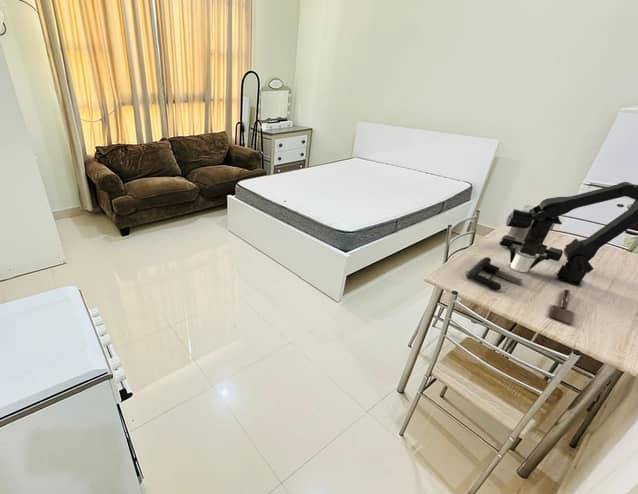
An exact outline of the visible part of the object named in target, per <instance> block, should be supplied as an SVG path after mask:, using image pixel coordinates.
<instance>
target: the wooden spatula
mask: <svg viewBox="0 0 638 494" xmlns="http://www.w3.org/2000/svg"><path fill="white" fill-rule="evenodd" d="M570 294H571V291H570V290H569V289H564V290H563V292H562V295H561V301H560V305H559V306H558V305H556V304H554V305H552V307H551V311H550V315H549V318H550V319H552V320H555V321H559V322H561V323H564V324H565V325H566V324H567V325H568V326H570V325H571V324H572V319H573V313H574V312H573V311H572V310H568V309H567V307H568V303H569V298H570Z"/></svg>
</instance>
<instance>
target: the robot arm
mask: <svg viewBox="0 0 638 494" xmlns="http://www.w3.org/2000/svg"><path fill="white" fill-rule="evenodd" d="M625 197H626V198H629V199H631V200H634V201H633V202H632V203H631V206H630V207H629V208H628V209H627V210H625V211H624V212H623V213H621V214H620V215H618V216H617V217H615V218H614V219H613V220H611V221H610V222H608V223H607V224H605V225H604V226H603V227H602V228H601V227H600V229H599V230H597V231H595V232H594V233H593V234H592V235H590V236H589V237H587V238H585V239H581V240H579V239H578V238H574V239H573V240H572V241H571V242H569V243H568V244H566V245H565V247H564V249H563V250H562V249H559V248H556V247H552V246H550V247H549V248H548V245H545V244H544V243H545V240H546V239H547V236H549V235H548V234H549V233H550V231H551V229H552V227H553V226H554V224H555V225H563V223H562V221H561V220H560V217H561V216H563V215H566V214H568V213H570V212H571V211H573V210H576V209H578V208H582V207H586V206H591V205H596V204H600V203H604V202H608V201H612V200H616V199H621V198H625ZM538 212H540V213H538ZM532 221H533V222H532ZM531 223H532V224H531ZM637 224H638V184H635V183H632V182H630V181H623V182H619V183H617V184H613V185H610V186H606V187H602V188H597V189H594V190H590V191H587V192H582V193H578V194H575V195H569V196H556V197H550V198H545V199H543V200H542V201H541V202H540V203H539V204H538V205H536V206H535V207H534V208H532V209H531V210H529V212H525V211H520V209H516V208H514V209H513V210H512V211H511V212H510V214H509V215H508V216H507V218H506V222H505V226H506V227H510V228H511V227H515V228H521V229H525V228H528V227H530V228H529V230H528V232H527V234H526V236H525V238H524V240H523V242H519V241H515V237H512V236H508V234H505V235H503V236H502V238H501V239H500V241H499V243H498V244H499V245H500V246H502V247H504V246H506V247H507V248H506V249H507V250H509V254H510V255H509V256H510V258H509V259H510V260H509V263H510V264H511V263H512V261H513V258H514V255H515V252H516V250H517V247H518V246H519V247H521V249H520V252H521V253H525V254H528V255H530V256H535V255H537V259H536V260H535V261H534V263H533V264H532V265H531V267H530V268H529V270H532V269H533V268H535V267H536V266H537V265H538V264H539V263H541V262H543V261H549V260H552V261H554V262H559V261H560V260H561V258H562V257H563V255H564V257H565V258H566V259H565V260H566V261H565V263H564V264H561V266H560V267H559V269H558V270H557V273H556V279H557V280H559V281H562V282H566V283H568V284H571V285H575V286H578V287H579V286H581V282H582V281H583V280H584V278H585V276H586V275H587V274H589V273H590V272H593V270H594V267H593V266H592V264H591V263H590V261H591V260H592V259H593V258H594V257H595V256H596V254H597V253H598V251H599V250H600V249H601V248H602V247H604V246H605V245H607V244H608V243H610V242H611V241H612V240H614V239H615V238H617V237H619V236H620V235H621V234H623V233H625V232H626V231H628V230H629V229H631V228H632V227H634V226H636V225H637ZM530 225H531V226H530Z"/></svg>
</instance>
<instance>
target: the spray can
mask: <svg viewBox="0 0 638 494" xmlns="http://www.w3.org/2000/svg"><path fill="white" fill-rule="evenodd" d="M534 207H536V206H535V205H529V204H527V205H524V206H523V207H522V208H520V209H519V210H520V211H525V212H529V210H531V209H532V208H534ZM538 213H540V212H538ZM532 222H533V221H532ZM531 224H532V223H531ZM530 226H531V225H530ZM529 228H530V227H528V228H525V229H521V228H515V227H510V229H509V231H508V233H507V235H508V236H512V237H515V241H519V242H523V240H524V238H525V236H526V234H527V232H528V230H529ZM503 247H504V248H505V249H507V247H506V246H503ZM520 249H521V247H519V246H518V247H517V250H520ZM517 250H516V251H517Z"/></svg>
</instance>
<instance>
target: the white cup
mask: <svg viewBox="0 0 638 494" xmlns="http://www.w3.org/2000/svg"><path fill="white" fill-rule="evenodd" d="M537 257H538V254H536V255H535V256H530V255H528V254H525V253H521V252H520V250H517V251H516V252H515V255H514V258H513V261H512V263H510V268H511V269H512V270H514V271H517V272H520V273H528V271H529V270H530V267H531V265H532V264H533V263H534V261H535V260H536V259H537Z"/></svg>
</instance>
